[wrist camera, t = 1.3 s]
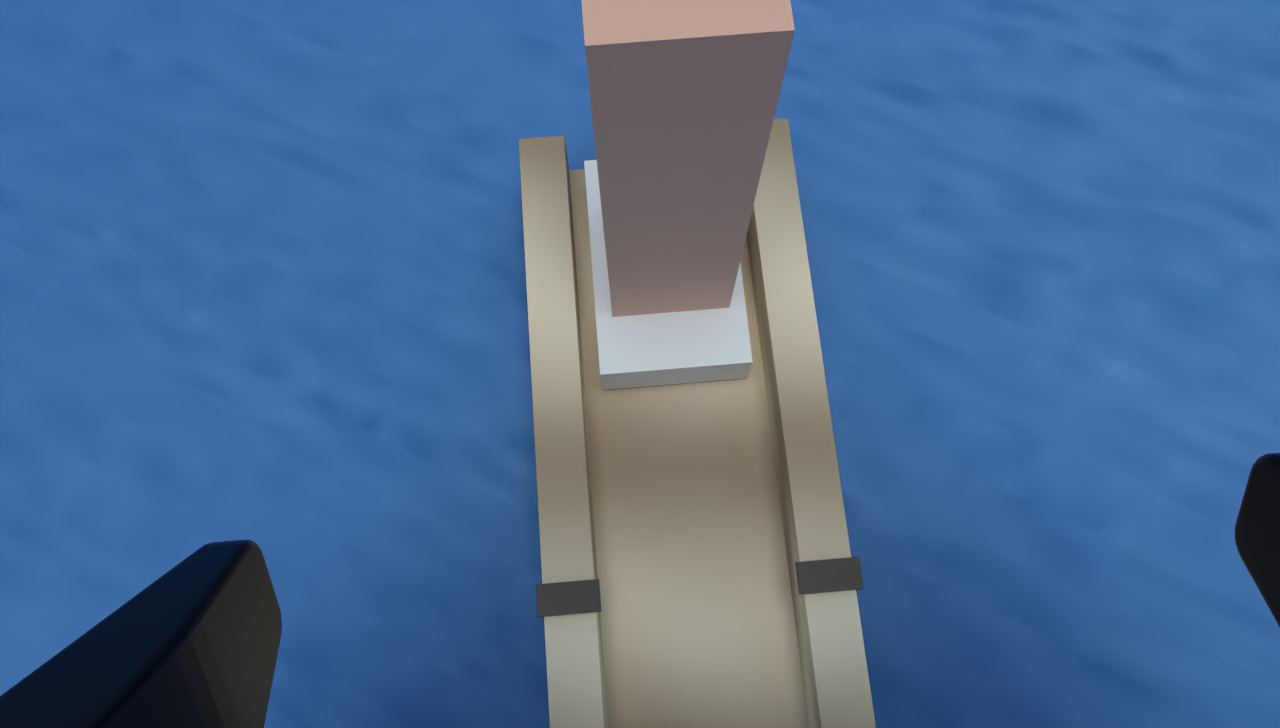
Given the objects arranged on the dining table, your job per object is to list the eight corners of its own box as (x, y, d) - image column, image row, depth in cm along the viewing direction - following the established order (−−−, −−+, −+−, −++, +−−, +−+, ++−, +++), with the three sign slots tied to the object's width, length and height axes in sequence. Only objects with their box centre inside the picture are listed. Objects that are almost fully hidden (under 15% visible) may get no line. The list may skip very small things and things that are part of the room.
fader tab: (746, 378, 21) (839, 120, 11) (602, 390, 21) (562, 141, 11) (722, 175, 23) (784, -218, 13) (587, 186, 23) (539, -201, 13)
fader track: (874, 885, 20) (913, 925, 17) (568, 914, 19) (555, 957, 17) (776, 177, 24) (793, 112, 21) (528, 196, 24) (513, 134, 21)
